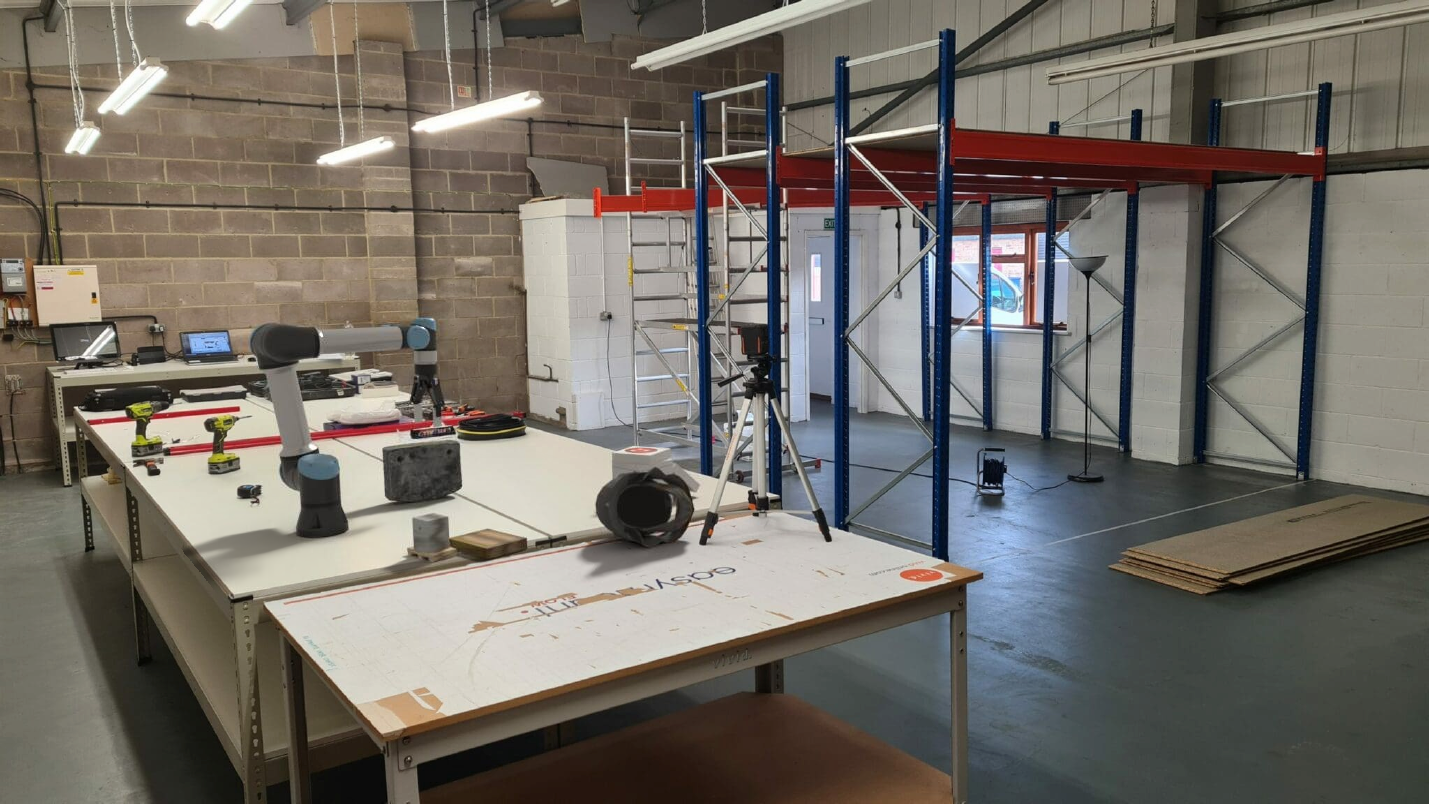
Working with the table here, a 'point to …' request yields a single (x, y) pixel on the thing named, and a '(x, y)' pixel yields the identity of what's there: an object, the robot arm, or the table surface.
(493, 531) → the dock
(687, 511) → the helmet
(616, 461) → the pizza boxes
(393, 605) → the table surface
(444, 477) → the concrete block
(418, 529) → the block
